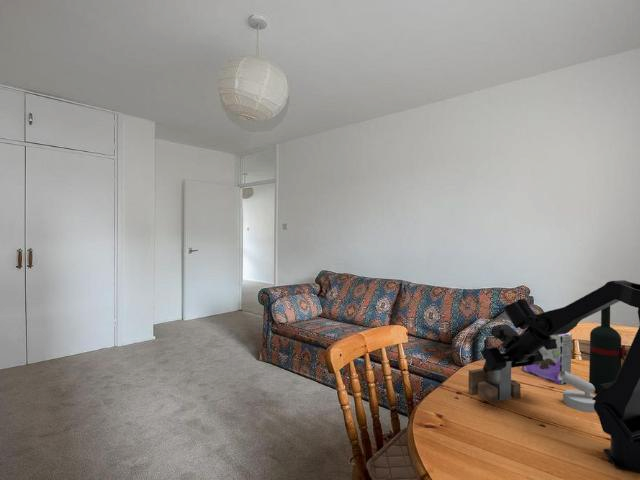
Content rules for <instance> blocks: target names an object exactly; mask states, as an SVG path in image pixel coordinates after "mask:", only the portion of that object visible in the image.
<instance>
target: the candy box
mask: <svg viewBox="0 0 640 480" xmlns="http://www.w3.org/2000/svg"><path fill="white" fill-rule="evenodd" d="M526 329H527V328H526ZM526 329H522V332H523V331H525V330H526ZM572 336H573V335H572V333H569V332H568V333H566V334H560V335H552V336H551V337H552V338H553V339H556V344H557V349H551V350H546V349H545V347H542V348H541V349H539V351H540V353H541V354H542V355H543V361H541V362H540V363H537V364H534V365H527V366H521V367H522V369H521V370H522V371H523V372H525V373H528V374H531V375H534V376H536V377H539V378H542V379H545V380H547V381H550V382H552V383H555V384H558V385H565V384H566V383H565V382H563V381H561V380H559V378H558V376H559V373H560V372H561V371H562V370H564V371H566V372H568V373H570V374H572V341H573V338H572Z"/></svg>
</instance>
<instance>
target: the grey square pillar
mask: <svg viewBox="0 0 640 480" xmlns="http://www.w3.org/2000/svg"><path fill="white" fill-rule="evenodd" d="M499 351H500V352H501V354H502V353H505V351H504V352H503V351H501V350H499ZM511 380H512V368H511V362H506V367H505V368H503V369H502V370H497V371H489V372H488V381H487V383H488V384H490V385H492V386H494V387H496V388H498V402H501V401H506V400H510V399H512V397H511Z"/></svg>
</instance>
